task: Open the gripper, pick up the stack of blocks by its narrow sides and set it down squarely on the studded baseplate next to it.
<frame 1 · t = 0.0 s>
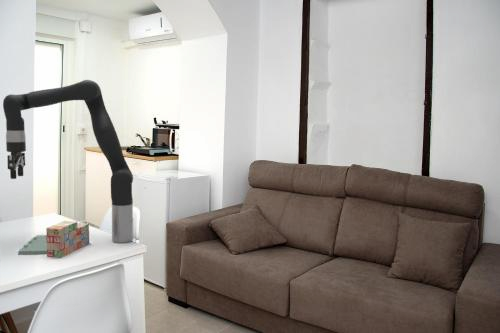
hand: (17, 177, 196), 29 cm above the table, tool pointing down, fingers open, 8 cm apart
stack of blocks: (69, 250, 191), on the table
baseplate: (42, 245, 195), on the table
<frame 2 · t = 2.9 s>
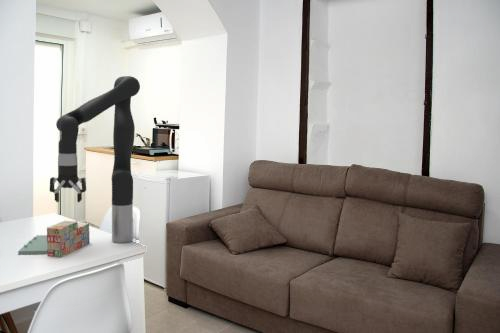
hand: (68, 201, 189), 21 cm above the table, tool pointing down, fingers open, 8 cm apart
nothing on the table moved.
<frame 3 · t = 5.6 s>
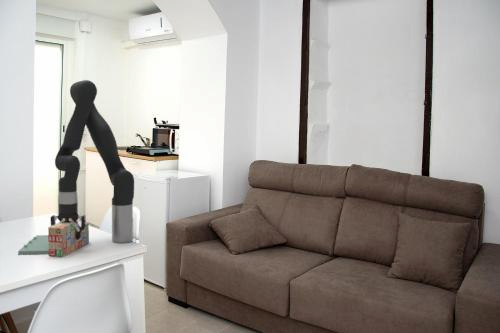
hand: (68, 239, 190), 4 cm above the table, tool pointing down, fingers closed on stack of blocks, 7 cm apart
stack of blocks: (70, 249, 192), on the table, touching gripper
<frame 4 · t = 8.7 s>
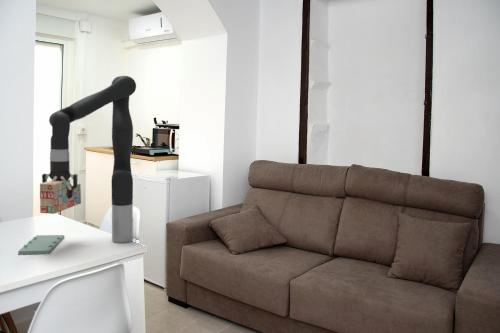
hand: (60, 198, 189), 22 cm above the table, tool pointing down, fingers closed on stack of blocks, 7 cm apart
stack of blocks: (61, 208, 191), point 17 cm above the table, touching gripper
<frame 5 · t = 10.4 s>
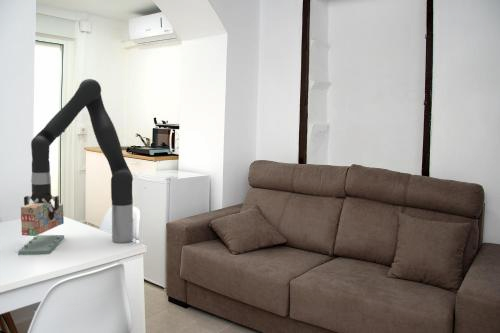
hand: (42, 219, 194), 12 cm above the table, tool pointing down, fingers closed on stack of blocks, 7 cm apart
stack of blocks: (43, 229, 195), point 7 cm above the table, touching gripper
when the fingers open (7 cm above the table, at t = 11.9 s): stack of blocks stays where it is, resting on baseplate.
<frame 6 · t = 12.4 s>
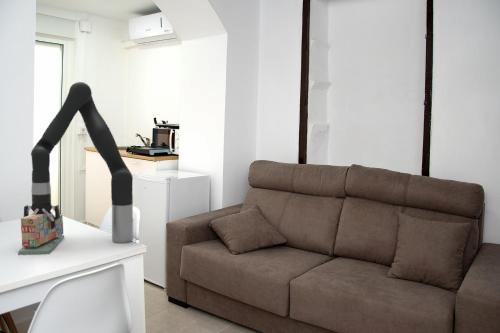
hand: (42, 229, 194), 8 cm above the table, tool pointing down, fingers open, 8 cm apart
stack of blocks: (43, 240, 196), point 2 cm above the table, touching baseplate
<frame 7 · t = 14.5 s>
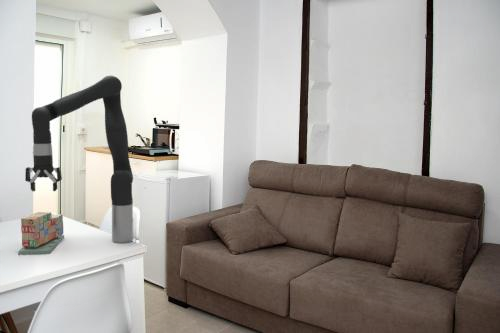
hand: (44, 191, 193), 24 cm above the table, tool pointing down, fingers open, 8 cm apart
nothing on the table moved.
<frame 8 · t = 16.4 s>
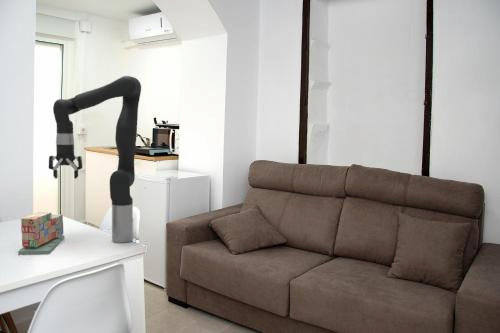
hand: (65, 178, 206), 28 cm above the table, tool pointing down, fingers open, 8 cm apart
nothing on the table moved.
at the end: stack of blocks 0.9 cm off-centre on the baseplate, point 2.1 cm above the baseplate's base; stack of blocks tilted 0°; the gripper is holding nothing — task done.
